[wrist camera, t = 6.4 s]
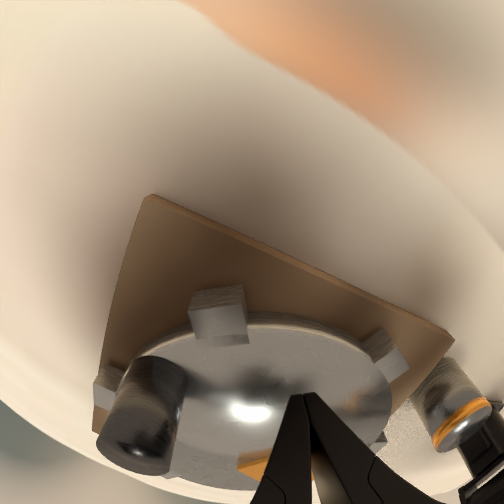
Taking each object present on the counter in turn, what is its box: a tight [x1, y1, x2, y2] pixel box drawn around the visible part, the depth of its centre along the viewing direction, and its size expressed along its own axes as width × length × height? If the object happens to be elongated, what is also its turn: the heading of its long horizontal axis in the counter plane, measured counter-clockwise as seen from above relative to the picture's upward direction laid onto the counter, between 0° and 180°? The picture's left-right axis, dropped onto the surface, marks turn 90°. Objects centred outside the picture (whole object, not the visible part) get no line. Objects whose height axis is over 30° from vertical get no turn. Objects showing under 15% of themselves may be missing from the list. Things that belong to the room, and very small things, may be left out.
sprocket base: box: [92, 194, 455, 434], centre depth 14 cm, size 17×17×1 cm
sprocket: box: [93, 284, 410, 491], centre depth 10 cm, size 16×15×6 cm
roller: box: [409, 358, 492, 452], centre depth 12 cm, size 4×4×5 cm
